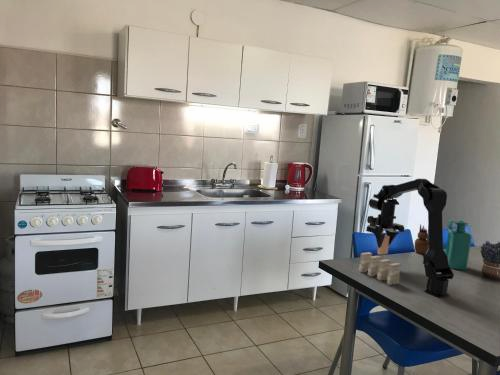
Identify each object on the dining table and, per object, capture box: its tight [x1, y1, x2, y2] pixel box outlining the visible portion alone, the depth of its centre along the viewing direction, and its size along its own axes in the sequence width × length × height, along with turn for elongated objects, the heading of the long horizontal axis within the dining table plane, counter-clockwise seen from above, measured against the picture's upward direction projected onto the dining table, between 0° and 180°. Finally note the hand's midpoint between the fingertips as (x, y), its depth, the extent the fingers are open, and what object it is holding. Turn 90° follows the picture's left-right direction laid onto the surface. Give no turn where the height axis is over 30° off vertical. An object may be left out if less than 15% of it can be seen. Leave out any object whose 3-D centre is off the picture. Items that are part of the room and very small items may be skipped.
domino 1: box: [358, 251, 373, 273], centre depth 179 cm, size 2×5×8 cm, turn 122°
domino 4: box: [376, 258, 392, 281], centre depth 171 cm, size 2×5×8 cm, turn 122°
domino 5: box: [386, 262, 402, 286], centre depth 166 cm, size 2×5×8 cm, turn 122°
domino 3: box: [376, 235, 390, 256], centre depth 188 cm, size 2×5×8 cm, turn 121°
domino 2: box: [367, 255, 382, 277], centre depth 175 cm, size 2×5×8 cm, turn 122°
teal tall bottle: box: [445, 218, 473, 271], centre depth 196 cm, size 10×8×22 cm
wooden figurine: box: [413, 223, 429, 255], centre depth 216 cm, size 7×6×15 cm
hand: (383, 247), depth 188 cm, fingers closed on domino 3, 5 cm apart
